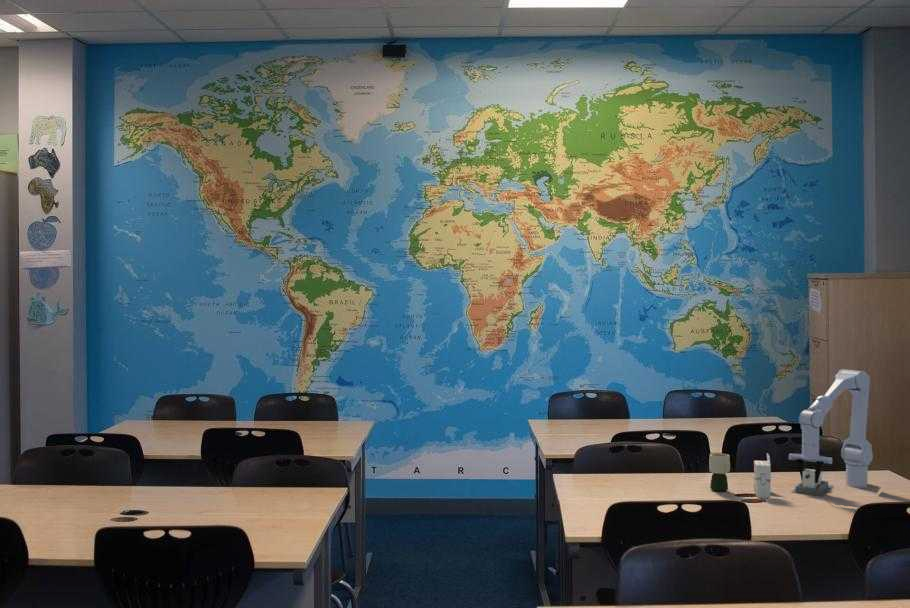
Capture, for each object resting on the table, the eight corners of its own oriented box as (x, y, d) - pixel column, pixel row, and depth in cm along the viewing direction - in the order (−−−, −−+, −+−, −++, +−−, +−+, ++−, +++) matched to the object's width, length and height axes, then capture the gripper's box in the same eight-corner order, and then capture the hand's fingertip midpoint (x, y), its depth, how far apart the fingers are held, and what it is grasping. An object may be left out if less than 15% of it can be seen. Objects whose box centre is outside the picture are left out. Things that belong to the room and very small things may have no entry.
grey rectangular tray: (803, 484, 340) (803, 476, 340) (834, 488, 334) (834, 480, 334) (790, 495, 324) (790, 486, 324) (823, 499, 318) (823, 490, 318)
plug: (805, 485, 328) (805, 468, 328) (817, 486, 326) (817, 470, 325) (800, 489, 322) (801, 472, 321) (812, 490, 319) (812, 473, 319)
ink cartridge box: (753, 492, 328) (753, 451, 328) (767, 493, 327) (767, 452, 327) (756, 497, 320) (756, 456, 319) (770, 498, 319) (771, 456, 318)
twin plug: (811, 484, 336) (811, 468, 336) (822, 486, 334) (823, 470, 334) (807, 488, 330) (807, 472, 330) (818, 490, 328) (818, 473, 328)
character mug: (737, 492, 327) (737, 456, 327) (721, 494, 324) (721, 458, 324) (717, 486, 337) (717, 451, 337) (701, 488, 334) (702, 453, 334)
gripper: (786, 443, 325) (786, 481, 325) (829, 447, 317) (829, 486, 317) (791, 440, 331) (790, 477, 331) (833, 444, 323) (833, 482, 323)
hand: (809, 481), depth 325 cm, fingers closed on plug, 4 cm apart
